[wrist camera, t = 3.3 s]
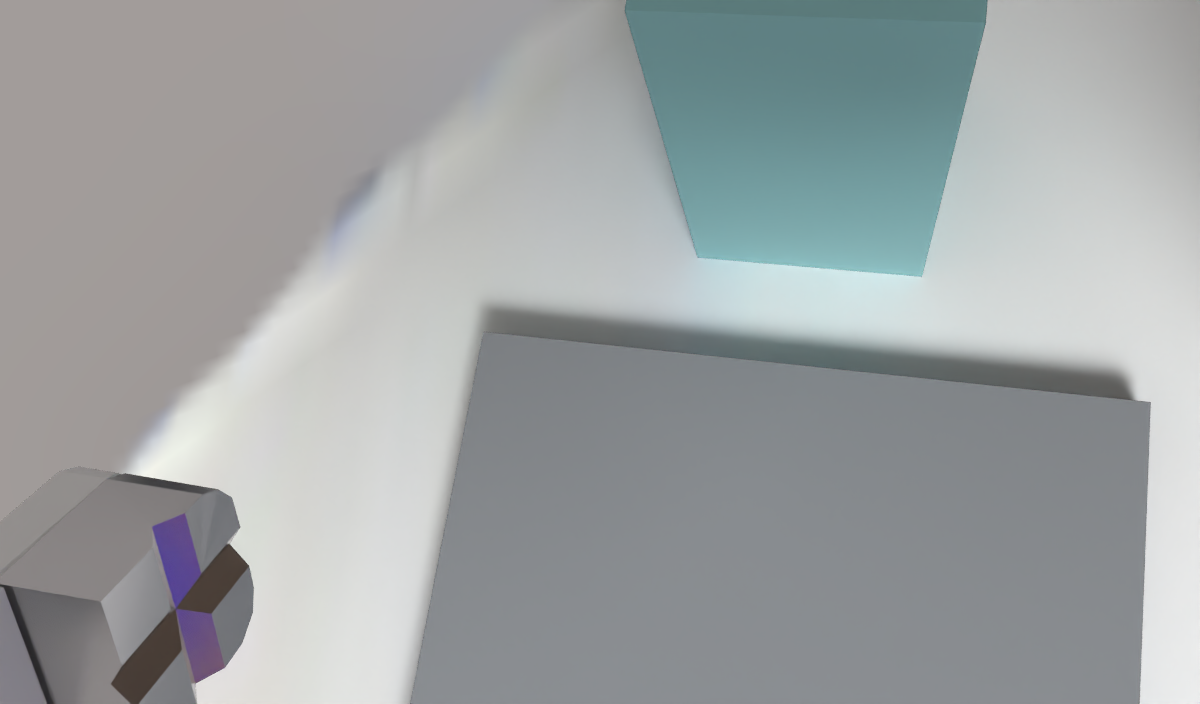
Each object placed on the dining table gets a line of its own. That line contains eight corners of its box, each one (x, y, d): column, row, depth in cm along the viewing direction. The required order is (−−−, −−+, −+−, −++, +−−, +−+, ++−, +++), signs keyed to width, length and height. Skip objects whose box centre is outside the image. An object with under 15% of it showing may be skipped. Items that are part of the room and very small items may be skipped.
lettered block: (727, 57, 27) (674, -291, 17) (941, 67, 26) (1013, -301, 16) (697, 257, 25) (622, 2, 16) (921, 276, 24) (987, 14, 15)
